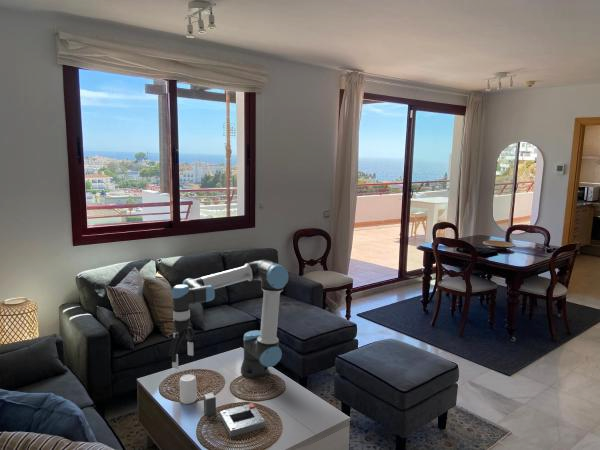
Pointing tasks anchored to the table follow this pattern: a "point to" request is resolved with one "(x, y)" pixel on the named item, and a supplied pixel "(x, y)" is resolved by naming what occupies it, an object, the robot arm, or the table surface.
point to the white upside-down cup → (188, 388)
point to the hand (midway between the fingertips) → (183, 361)
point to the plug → (209, 404)
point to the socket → (242, 419)
